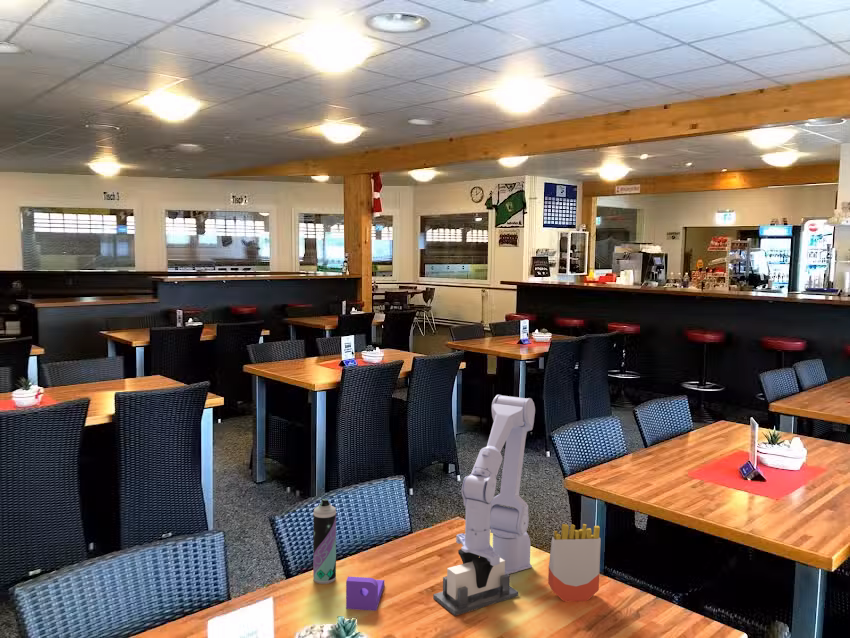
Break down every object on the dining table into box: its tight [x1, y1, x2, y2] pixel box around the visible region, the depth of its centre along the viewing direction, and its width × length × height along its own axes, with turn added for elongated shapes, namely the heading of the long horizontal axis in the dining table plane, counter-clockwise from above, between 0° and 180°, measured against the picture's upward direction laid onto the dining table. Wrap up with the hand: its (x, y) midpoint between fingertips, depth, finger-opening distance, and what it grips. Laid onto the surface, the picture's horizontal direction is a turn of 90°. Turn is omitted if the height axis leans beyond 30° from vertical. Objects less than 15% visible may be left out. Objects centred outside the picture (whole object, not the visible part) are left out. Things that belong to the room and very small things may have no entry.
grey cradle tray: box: [432, 574, 520, 617], centre depth 156 cm, size 18×9×5 cm, turn 121°
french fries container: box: [547, 523, 602, 602], centre depth 157 cm, size 5×11×18 cm, turn 95°
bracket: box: [345, 576, 385, 611], centre depth 156 cm, size 12×7×7 cm, turn 175°
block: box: [446, 558, 505, 600], centre depth 156 cm, size 14×4×6 cm, turn 122°
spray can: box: [312, 498, 337, 585], centre depth 163 cm, size 6×6×20 cm
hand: (476, 583), depth 156 cm, fingers closed on block, 3 cm apart
